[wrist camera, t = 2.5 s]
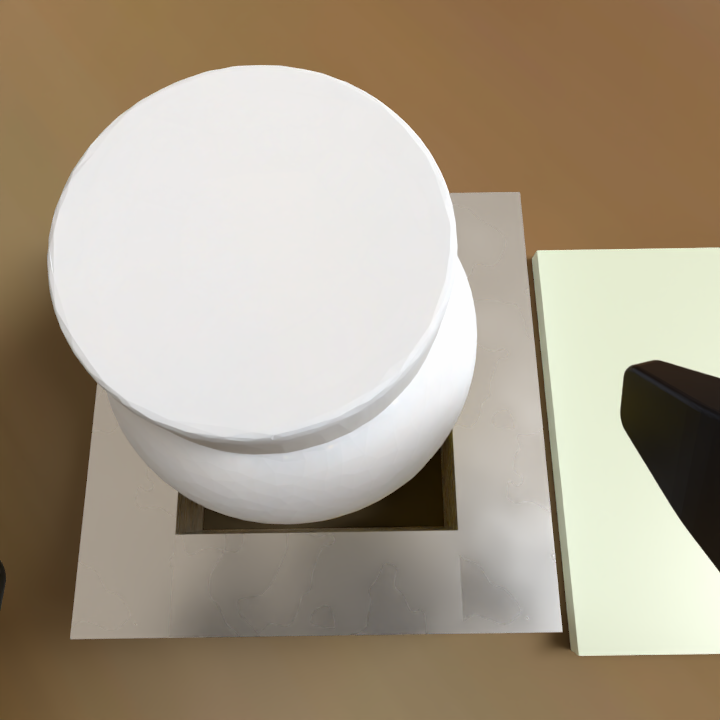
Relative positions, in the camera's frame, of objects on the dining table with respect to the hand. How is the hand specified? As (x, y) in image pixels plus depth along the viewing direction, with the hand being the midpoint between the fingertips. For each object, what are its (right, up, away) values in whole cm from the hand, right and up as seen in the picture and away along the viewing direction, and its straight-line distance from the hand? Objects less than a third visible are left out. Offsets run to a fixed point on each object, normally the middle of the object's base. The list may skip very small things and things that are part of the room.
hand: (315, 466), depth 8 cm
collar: (0, 0, +10) cm, 10 cm away
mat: (+11, -1, +9) cm, 14 cm away
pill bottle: (0, 0, +10) cm, 10 cm away
